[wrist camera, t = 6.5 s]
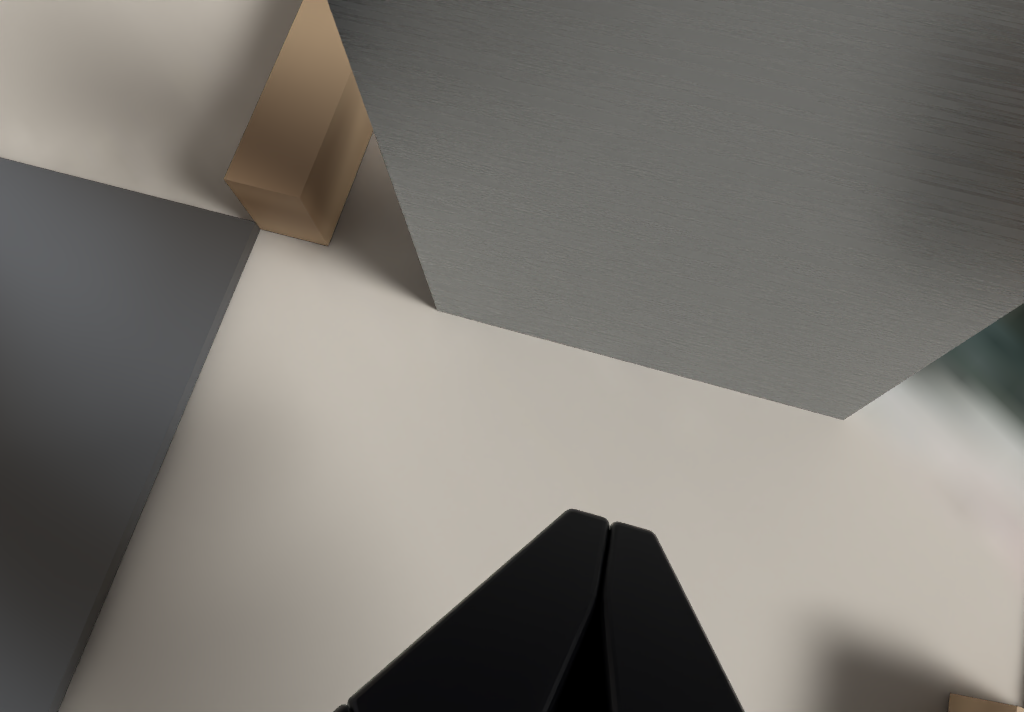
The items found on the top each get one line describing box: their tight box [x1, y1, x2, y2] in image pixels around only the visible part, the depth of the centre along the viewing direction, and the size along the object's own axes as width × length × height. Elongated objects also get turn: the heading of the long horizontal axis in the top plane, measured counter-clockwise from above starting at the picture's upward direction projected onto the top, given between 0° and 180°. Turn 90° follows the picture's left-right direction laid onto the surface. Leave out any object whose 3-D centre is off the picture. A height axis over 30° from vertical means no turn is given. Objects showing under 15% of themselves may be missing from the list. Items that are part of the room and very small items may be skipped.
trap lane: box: [0, 0, 1024, 712], centre depth 15 cm, size 25×34×2 cm
